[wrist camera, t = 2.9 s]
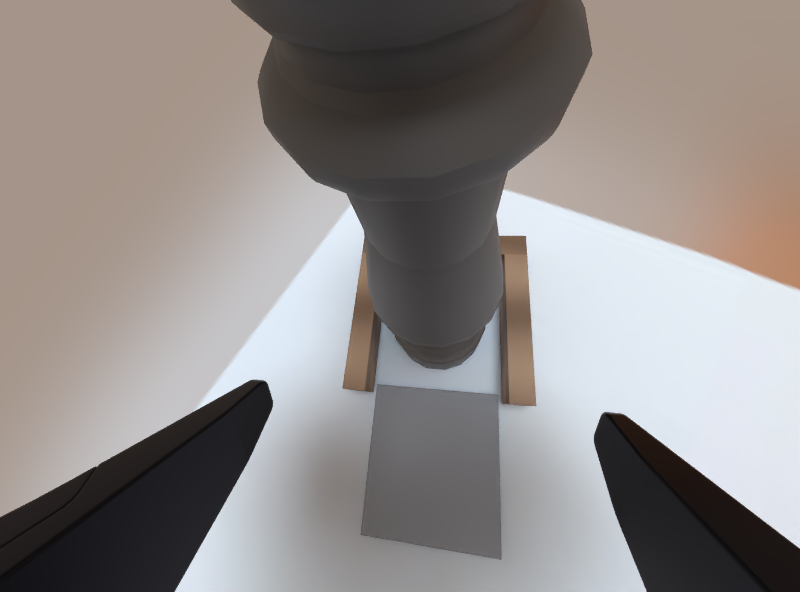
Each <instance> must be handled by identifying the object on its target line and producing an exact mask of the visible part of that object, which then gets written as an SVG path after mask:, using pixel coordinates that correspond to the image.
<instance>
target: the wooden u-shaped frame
mask: <svg viewBox="0 0 800 592" xmlns="http://www.w3.org/2000/svg"><path fill="white" fill-rule="evenodd" d="M499 243H500V250H501V257H502V264H503V295H502V297H501V299H500V342H501V382H502V403H503V404H514V405H525V406H536V396H535V379H534V363H533V346H532V330H531V313H530V297H529V280H528V264H527V247H526V236H499ZM381 320H382V319H381V318H380V317H379V316H378V315H377V313H376V312H375V311H374V308H373V304H372V300H371V297H370V293H369V289H368V281H367V263H366V249H365V238H364V245H363V252H362V259H361V266H360V273H359V279H358V286H357V293H356V300H355V307H354V314H353V320H352V327H351V334H350V341H349V348H348V355H347V361H346V368H345V375H344V382H343V388H344V389H351V390H361V391H372V392H373V391H374V382H375V373H376V364H377V355H378V346H379V337H380V329H381Z"/></svg>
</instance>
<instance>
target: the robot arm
mask: <svg viewBox="0 0 800 592" xmlns="http://www.w3.org/2000/svg"><path fill="white" fill-rule="evenodd" d="M272 407H273V400H272V396H271V393H270V390H269V387H268V384H267V382H266V381H263V380H250V381H248V382H246V383H245V384H243V385H241V386H239V387H237V388H236V389H234V390H232V391H230V392H228V393H227V394H225V395H223V396H221V397H219V398H218V399H216V400H214V401H212V402H210V403H209V404H207V405H205V406H203V407H201V408H200V409H198V410H196V411H194V412H192V413H191V414H189V415H187V416H185V417H183V418H182V419H180V420H178V421H176V422H174V423H173V424H171V425H169V426H167V427H166V428H164V429H162V430H160V431H158V432H157V433H155V434H153V435H151V436H149V437H148V438H146V439H144V440H142V441H140V442H138V443H137V444H135V445H133V446H131V447H130V448H128V449H126V450H124V451H122V452H121V453H119V454H117V455H115V456H113V457H111V458H110V459H108V460H106V461H104V462H102V463H101V464H99V465H98V467H93V468H92V469H90V470H88V471H86V472H84V473H83V474H81V475H79V476H77V477H76V478H74V479H72V480H70V481H68V482H66V483H65V484H63V485H61V486H59V487H57V488H55V489H54V490H52V491H50V492H48V493H46V494H44V495H42V496H40V497H39V498H37V499H35V500H33V501H31V502H29V503H27V504H25V505H23V506H21V507H20V508H17V509H15V510H13V511H11V512H9V513H7V514H5V515H4V516H2V517H0V592H175V590H176V588H177V587H178V585H179V583H180V581H181V579H182V578H183V576H184V574H185V572H186V571H187V569H188V567H189V565H190V564H191V562H192V560H193V558H194V556H195V555H196V553H197V551H198V549H199V548H200V546H201V544H202V542H203V541H204V539H205V537H206V535H207V533H208V532H209V530H210V528H211V526H212V525H213V523H214V521H215V519H216V518H217V516H218V514H219V512H220V510H221V509H222V507H223V505H224V503H225V502H226V500H227V498H228V496H229V495H230V493H231V491H232V489H233V487H234V486H235V484H236V482H237V480H238V479H239V477H240V475H241V473H242V472H243V470H244V468H245V466H246V464H247V462H248V460H249V458H250V456H251V454H252V452H253V450H254V448H255V446H256V443H257V441H258V439H259V437H260V435H261V432H262V430H263V428H264V426H265V424H266V421H267V419H268V417H269V415H270V412H271V410H272ZM594 444H595V448H596V451H597V454H598V458H599V461H600V464H601V468H602V471H603V475H604V478H605V481H606V485H607V488H608V491H609V495H610V498H611V501H612V505H613V508H614V511H615V514H616V516H617V519H618V522H619V524H620V527H621V529H622V532H623V534H624V537H625V539H626V542H627V544H628V546H629V549H630V551H631V554H632V556H633V559H634V561H635V564H636V566H637V569H638V571H639V574H640V576H641V578H642V581H643V583H644V586H645V588H646V591H647V592H800V548H798V547H797V546H796V545H794V544H793V543H792V542H790V541H789V540H788V539H787V538H785V537H784V536H783V535H781V534H780V533H779V532H777V531H776V530H775V529H773V528H772V527H771V526H770V525H768V524H767V523H766V522H764V521H763V520H762V519H760V518H759V517H758V516H756V515H755V514H754V513H753V512H751V511H750V510H749V509H747V508H746V507H745V506H743V505H742V504H741V503H739V502H738V501H737V500H736V499H734V498H733V497H732V496H730V495H729V494H728V493H726V492H725V491H724V490H722V489H721V488H720V487H719V486H717V485H716V484H715V483H713V482H712V481H711V480H709V479H708V478H707V477H705V476H704V475H703V474H702V473H700V472H699V471H698V470H696V469H695V468H694V467H692V466H691V465H690V464H689V463H687V462H686V461H685V460H683V459H682V458H681V457H679V456H678V455H677V454H675V453H674V452H673V451H672V450H670V449H669V448H668V447H666V446H665V445H664V444H662V443H661V442H660V441H658V440H657V439H656V438H655V437H653V436H652V435H651V434H649V433H648V432H647V431H645V430H644V429H643V428H641V427H640V426H639V425H638V424H636V423H635V422H634V421H632V420H631V419H630V418H628V417H627V416H626V415H624V414H621V413H611V412H604V413H603V414H602V415H601V417H600V420H599V423H598V426H597V428H596V431H595V434H594Z"/></svg>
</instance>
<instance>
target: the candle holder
mask: <svg viewBox="0 0 800 592" xmlns="http://www.w3.org/2000/svg"><path fill="white" fill-rule="evenodd" d="M231 1H232V3H234V4H235V5H236V6H237V7H238V8H239V9H240V10H242V11H243V12H244V13H245V14H246V15H247V16H249V17H250V18H251V19H252V20H254V21H255V22H256V23H257V24H258V25H260V26H261V27H262V28H263V29H264V30H266V31H267V32H268V33H269V34H271V35H272V36H273V37H272V40H271V42H270V45H269V48H268V50H267V53H266V56H265V58H264V61H263V64H262V67H261V70H260V74H259V78H258V88H259V94H260V100H261V106H262V112H263V119H264V123H265V125H266V127H267V128H268V130H269V131H270V133H271V134H272V136H273V137H274V138H275V139H276V141H277V142H278V143H279V144H280V145H281V146H282V147H283V148H284V149H285V150H286V152H287V153H288V154H289V155H290V156H291V157H292V158H293V159H294V160H295V161H296V162H297V164H299V166H300V167H301V168H302V169H303V170H304V171H305V172H306V173H307V174H308V176H309V177H311V178H312V179H313V180H314V181H316V182H318V183H321V184H323V185H326V186H329V187H331V188H334V189H337V190H339V191H342V192H345V193H347V196H348V198H349V200H350V202H351V204H352V206H353V208H354V210H355V212H356V214H357V217H358V219H359V221H360V223H361V225H362V227H363V229H364V236H365V249H366V263H367V281H368V289H369V293H370V297H371V300H372V304H373V308H374V311H375V312H376V313H377V315H378V316H379V317H380V318H381V319H382V321H383V322H384V323H385V324H386V326H387V327H388V328H389V329H390V330H391V332H392V333H393V334H395V337H396V340H397V341H398V342H399V344H400V345H401V346H402V347H403V349H404V350H405V351H406V352H407V353H408V355H409V356H410V357H411V358H412V360H413V361H415V362H417V363H419V364H421V365H423V366H425V367H427V368H432V369H443V370H445V369H448V368H451V367H454V366H457V365H460V364H462V363H463V362H464V361H465V360H466V359H467V358H468V357H470V356H471V355H472V354H473V353H474V351H475V349H476V347H477V345H478V343H479V341H480V339H481V337H482V335H483V332H484V330H485V325H486V324H488V323H489V322H490V321H491V319H492V317H493V315H494V313H495V310H496V308H497V306H498V304H499V302H500V299H501V297H502V295H503V264H502V257H501V250H500V243H499V234H498V226H497V218H496V213H497V210H498V206H499V202H500V199H501V195H502V191H503V187H504V184H505V180H506V176H507V173H508V171H509V170H510V169H512V168H513V167H514V166H515V165H517V164H518V163H519V162H520V161H521V160H523V159H524V158H525V157H527V156H528V155H529V154H530V153H532V152H533V151H534V150H535V149H537V148H538V147H539V146H540V145H542V144H543V143H544V142H545V141H547V140H548V139H549V138H550V137H551V136H552V134H553V133H554V132H555V130H556V129H557V127H558V126H559V124H560V122H561V120H562V118H563V116H564V114H565V112H566V110H567V107H568V105H569V103H570V101H571V99H572V97H573V95H574V93H575V91H576V89H577V87H578V85H579V83H580V81H581V79H582V77H583V75H584V72H585V70H586V68H587V66H588V63H589V61H590V58H591V56H592V48H591V42H590V37H589V30H588V24H587V18H586V12H585V7H584V5H583V3H582V1H581V0H231Z"/></svg>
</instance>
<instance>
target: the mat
mask: <svg viewBox="0 0 800 592" xmlns="http://www.w3.org/2000/svg"><path fill="white" fill-rule="evenodd" d="M361 535H366V536H371V537H377V538H382V539H388V540H394V541H399V542H405V543H411V544H416V545H422V546H428V547H433V548H439V549H444V550H450V551H456V552H461V553H467V554H473V555H478V556H484V557H490V558H495V559H501V516H500V468H499V420H498V395H491V394H480V393H468V392H457V391H445V390H434V389H422V388H411V387H399V386H388V385H377V392H376V401H375V410H374V419H373V428H372V437H371V447H370V456H369V465H368V474H367V483H366V492H365V501H364V511H363V520H362V529H361Z"/></svg>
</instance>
